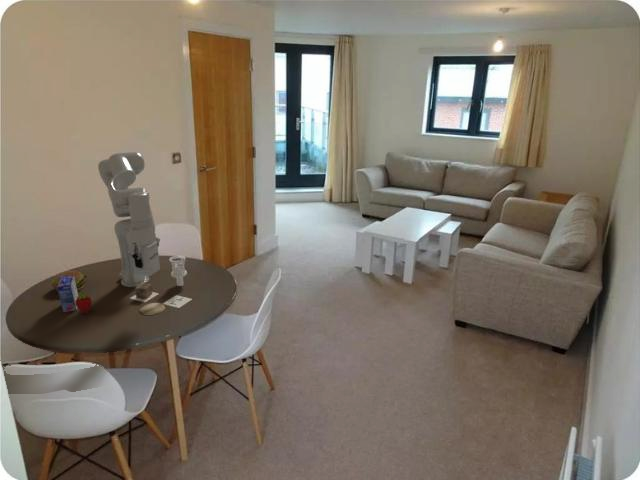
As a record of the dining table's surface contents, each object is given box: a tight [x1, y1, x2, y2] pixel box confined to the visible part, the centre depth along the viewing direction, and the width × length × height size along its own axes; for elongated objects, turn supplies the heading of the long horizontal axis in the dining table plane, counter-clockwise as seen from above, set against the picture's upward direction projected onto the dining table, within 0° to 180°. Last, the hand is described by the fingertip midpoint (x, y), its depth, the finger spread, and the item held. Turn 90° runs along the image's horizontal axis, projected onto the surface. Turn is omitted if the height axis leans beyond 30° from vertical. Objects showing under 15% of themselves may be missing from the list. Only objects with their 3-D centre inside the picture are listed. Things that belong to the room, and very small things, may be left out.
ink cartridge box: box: [57, 275, 79, 313], centre depth 186 cm, size 10×6×14 cm, turn 22°
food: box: [51, 270, 87, 292], centre depth 203 cm, size 14×14×8 cm
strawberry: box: [75, 292, 92, 314], centre depth 181 cm, size 6×8×10 cm
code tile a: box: [162, 294, 193, 309], centre depth 194 cm, size 9×9×1 cm
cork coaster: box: [139, 302, 166, 316], centre depth 187 cm, size 10×10×1 cm
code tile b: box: [129, 291, 160, 303], centre depth 198 cm, size 9×9×1 cm
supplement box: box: [133, 241, 161, 277], centre depth 178 cm, size 7×7×13 cm
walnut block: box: [134, 283, 153, 299], centre depth 197 cm, size 5×5×5 cm
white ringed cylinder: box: [169, 255, 188, 287], centre depth 207 cm, size 7×7×15 cm
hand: (146, 263), depth 179 cm, fingers closed on supplement box, 8 cm apart
